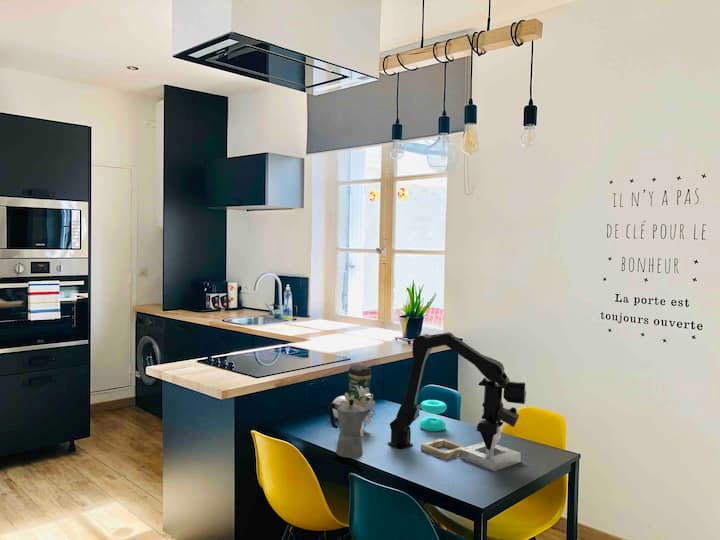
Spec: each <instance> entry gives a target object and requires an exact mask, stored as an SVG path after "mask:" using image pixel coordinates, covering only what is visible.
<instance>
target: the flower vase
mask: <svg viewBox="0 0 720 540" xmlns="http://www.w3.org/2000/svg"><path fill="white" fill-rule="evenodd" d="M355 386H356V385H355ZM356 388H357V390H358V392H359V395H360V396H359V398H358V400H357V399H355V398H354V395H351V397H349V395H348V392H345V393H344V395H340V396H337V397H336V398H334V400H332V403H335V404H341V405H349V400H350V399H352V400H354V401H353V405H358V406H361V407H364V408H365V409H364V410H367V411H369V410H370V412H371V413H370V414H367V416H366V417H365V418H364V420H363V428H362V427H361V430H360V434H361V437H365V434H367V435H370V434H371V433H370V432H369V431H367V430H366V425H369V424H370V423H371V420H372V419H371V418H373V417H374V416H375V415H376V411H375V408H374V407H375V406H376V401H375V400H374V394H373V393H371V392H370V393H368V392H364V389H363V387H362V386H360V390H359V388H358V386H356ZM363 392H364V393H363ZM367 395H370V396H367ZM360 397H362V398H361V400H360V401H359V399H360ZM366 397H368V398H370V401H369V402H368V404H367V405H365V404H364V403H365V401H366ZM333 414H334V418H337V419H338V411H337V410H336V409H333Z"/></svg>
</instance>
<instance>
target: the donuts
mask: <svg viewBox="0 0 720 540" xmlns="http://www.w3.org/2000/svg"><path fill="white" fill-rule="evenodd" d="M420 405H421V408H420V410H422V411H423V412H425V413H428V414H432V415H434V414H435V415H438V414H443V413H444V412H445V411H447V404H446V403H445V402H444V401H442V400H437V399H427V400H423V401H422V402H421V403H420ZM419 426H420V428H421V429H423V430H424V431H429V432H441V431H443V430H445V429H446V426H447V424H446V422H445V421H444V420H443V419H442V418H439V417H435V416H426V417H423V418H421V420H420V421H419Z"/></svg>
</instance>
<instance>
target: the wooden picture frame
mask: <svg viewBox="0 0 720 540" xmlns="http://www.w3.org/2000/svg"><path fill="white" fill-rule="evenodd" d="M440 447H444V448H447V449H448V450H445V451H444V450H442V449H439V448H440ZM465 447H466V446H465V445H462V444H460V443H457V442H453V441H450V440H449V439H446V438H439V439H436V440H432V441H428V442H425V443H421V444H420V450H421V451H422V452H424V453H427V454H429V455H431V456H434V457H437V458H440V459H442V460H444V461H446V460H450V459H453V458H455V457H458V456H459V457H460V449H461V448H465Z"/></svg>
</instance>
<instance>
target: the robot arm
mask: <svg viewBox="0 0 720 540" xmlns="http://www.w3.org/2000/svg"><path fill="white" fill-rule="evenodd" d="M442 346H446V347H447V348H449V349H451V350H452V351H453V352H455V353H456V354H458V355H459V356H461V357H462V358H463V359H465V360H467V361H468V362H469V363H471V364H473V365H474V366H475V367H476V368H477V371H479V372H480V374H481V375H483V376H484V377H483V378H482V380H480V381H479V383H478V386H479V387H480V386H481V387H484V388H483V389H484V391H483V392H484V393H483V402H482V407H483V410H482V412H483V413H482V415H481V419H482V420H480V421H479V422H478V424H477V426H476V431H477V432H479V433H480V435H482V436H481V439H482V440H483V442H484V443H485V446H486V448H487V449H488V450H490V449H491V445H492V441H493V437H494V435H495V434H497V433H498V431H499V430H498V428H499V429H500V427H502V426H503V424H504V423H505V424H508V425H509V426H510V427H513V428H514V427H516V424H517V422H518V420H519V418H520V415H519V413H517V408H515V407H513V406H511V408H505V407H504V403H503V402H502V398H503V399H504V400H505V401H506V402H507V403H510V404H511V403H512V404H519V405H526V397H527V391H526V382H523V381H521V382H519V381H510V380H511V379H510V378H509V376H507V374H506V372H505V368H504V365H503V363H502V362H500V361H499V360H497V359H495V358H493V357H489V356H487V355H484V354H481V353H480V352H479V351H478V350H476V349H474V348H473V347H472V346H470V345H468V344H467V343H466V342H464V341H463V340H461V339H460V338H458V337H457V336H455V335H454V334H453V333H452V332H450V331H446V332H444V333H436V334H431V335H430V334H429V333H421V334H420V335H418V336H416V337H414V339H413V341H412V350H411V351H412V352H411V353H412V364H411V368H410V372H409V377H408V382H407V385H406V392H405V396H404V398H403V401H402V402H401V404H400V406H399V409H398V411H397V413H396V418H395V419H393V420H392V421H391V422H390V423H389V427H390V432H391V433H390V441H388V442H387V444H388V446H389V445H390V446H391V447H394V448H396V449H399V450H402V449H405V448H410V447H412V446H413V445H414V444H413V443H411V438H412V437H411V433H412V431H411V425H412V424H413V423H414V422H415V421H416V420H417V419H418V418H419V416H420V410H421V404H418V396H419V392H420V387H421V384H422V383H421V382H422V379H423V373H424V370H425V366H426V365H425V364H426V361H427V360H428V357H429V356H430V353H431V351H432V349H433V348H434V349H435V348H437V347H442Z"/></svg>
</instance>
